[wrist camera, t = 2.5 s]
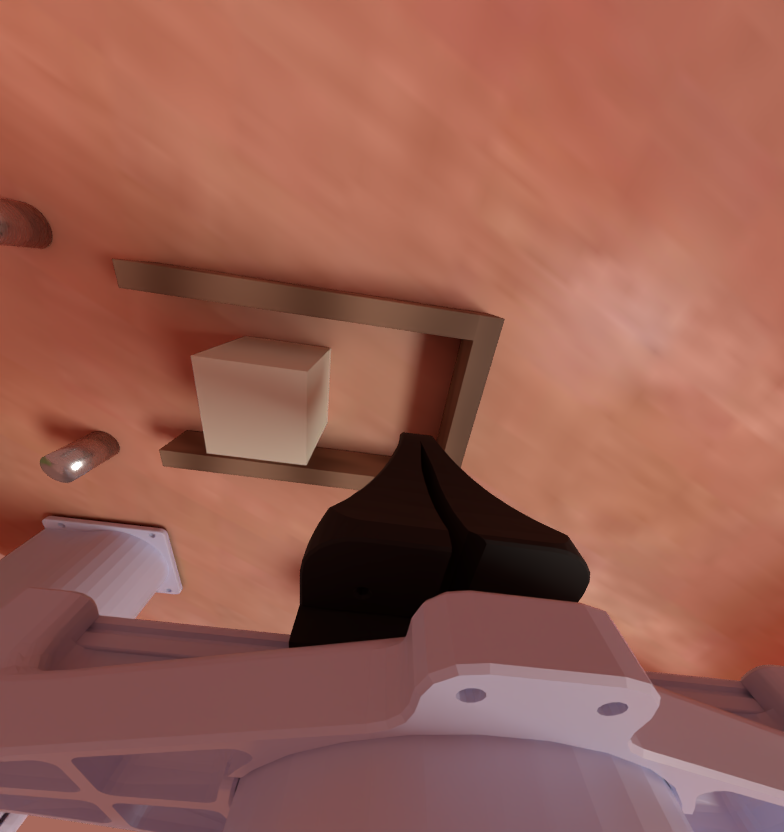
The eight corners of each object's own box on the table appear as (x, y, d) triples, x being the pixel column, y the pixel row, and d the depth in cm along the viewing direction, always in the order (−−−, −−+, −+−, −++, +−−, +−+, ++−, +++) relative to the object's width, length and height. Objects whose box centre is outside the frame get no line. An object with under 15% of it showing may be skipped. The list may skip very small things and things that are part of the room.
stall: (189, 445, 20) (163, 466, 18) (154, 262, 15) (111, 258, 13) (444, 477, 21) (450, 501, 18) (489, 313, 16) (504, 318, 14)
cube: (252, 412, 19) (206, 453, 14) (246, 335, 17) (190, 355, 12) (327, 421, 19) (306, 465, 15) (331, 347, 17) (307, 371, 12)
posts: (93, 453, 20) (47, 480, 18) (1, 198, 14) (-96, 178, 11) (122, 457, 20) (80, 484, 18) (43, 205, 14) (-42, 186, 11)
